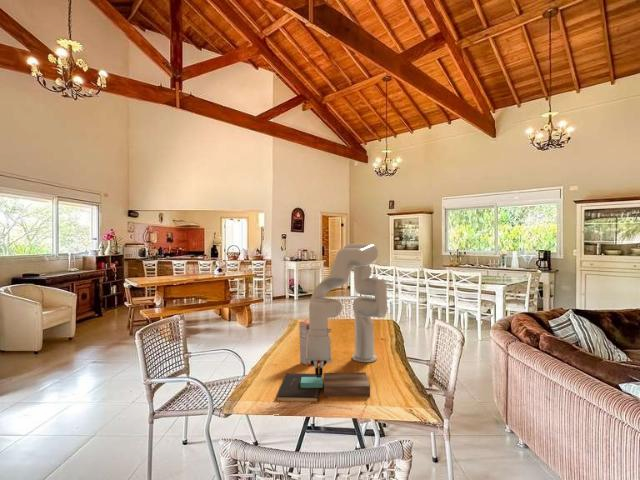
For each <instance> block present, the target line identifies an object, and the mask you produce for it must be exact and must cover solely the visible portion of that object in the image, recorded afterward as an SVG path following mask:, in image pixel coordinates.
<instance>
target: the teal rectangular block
mask: <svg viewBox="0 0 640 480" xmlns="http://www.w3.org/2000/svg"><path fill="white" fill-rule="evenodd" d="M301 388H320V389H321V388H322V389H324V376H322V377H321V378H317V377H302V378H301Z"/></svg>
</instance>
